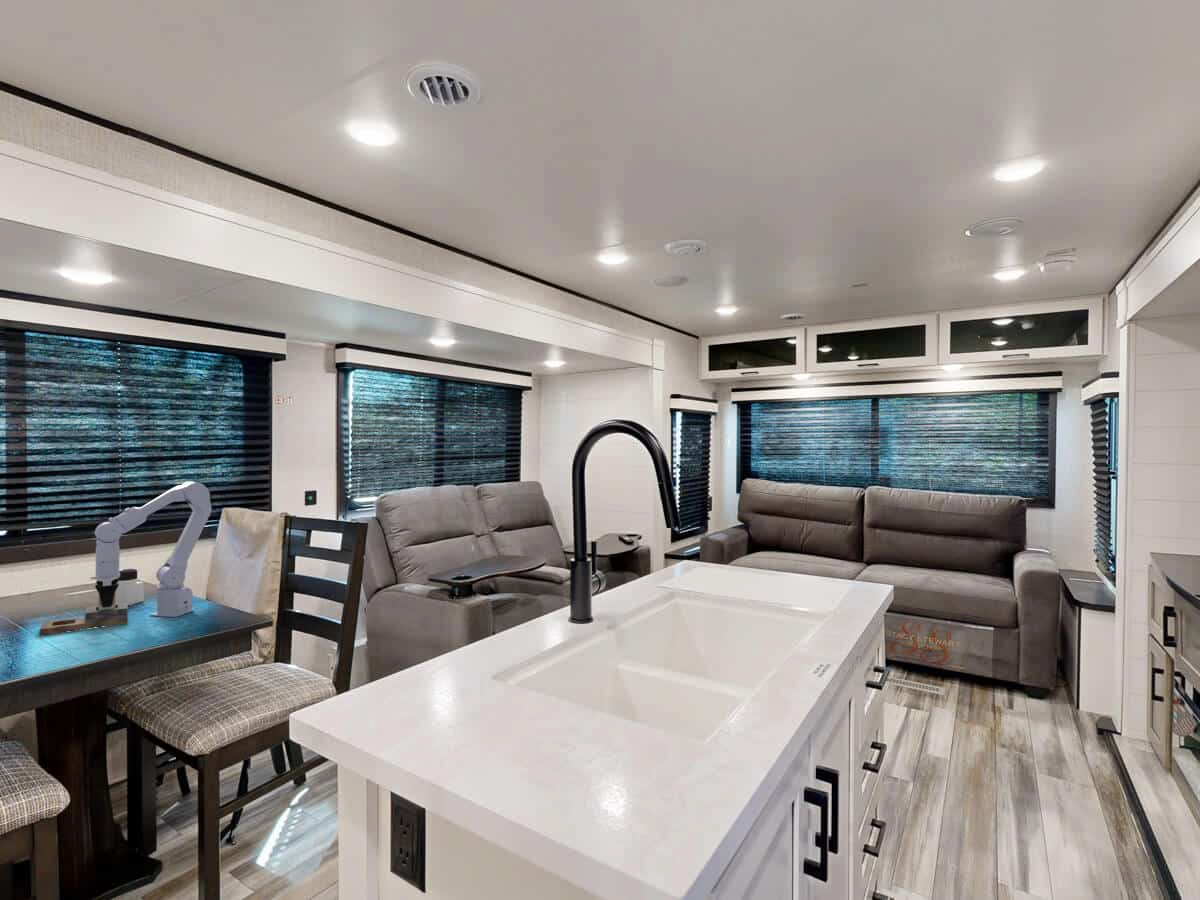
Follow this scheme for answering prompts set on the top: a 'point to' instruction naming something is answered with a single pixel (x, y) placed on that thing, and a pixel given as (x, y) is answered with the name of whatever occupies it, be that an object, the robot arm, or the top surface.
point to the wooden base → (88, 620)
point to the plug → (107, 607)
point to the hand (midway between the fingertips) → (107, 604)
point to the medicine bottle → (129, 587)
